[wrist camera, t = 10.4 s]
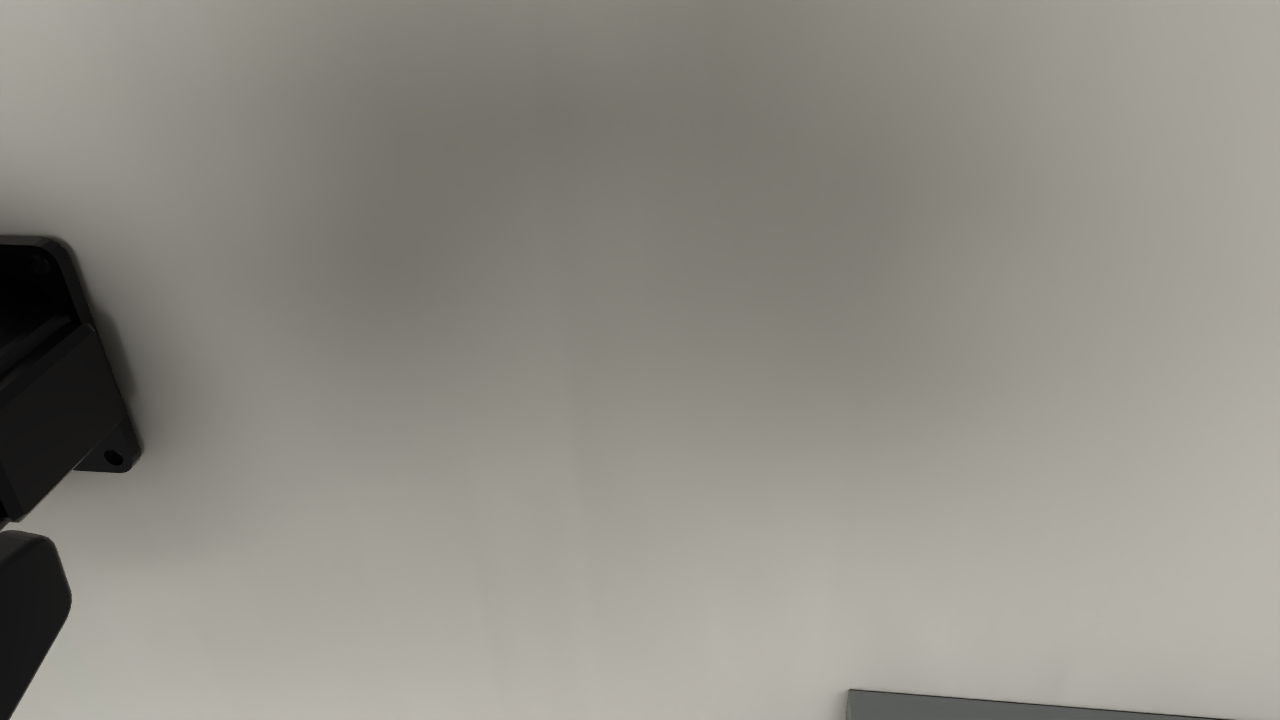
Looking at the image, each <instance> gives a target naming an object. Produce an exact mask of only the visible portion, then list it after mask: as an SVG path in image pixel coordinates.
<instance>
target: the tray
mask: <svg viewBox="0 0 1280 720" xmlns="http://www.w3.org/2000/svg"><path fill="white" fill-rule="evenodd" d="M846 720H1216V719H1203V718H1191V717H1178V716H1166V715H1153V714H1141V713H1128V712H1116V711H1103V710H1091V709H1078V708H1066V707H1053V706H1041V705H1028V704H1016V703H1004V702H991V701H979V700H966V699H954V698H941V697H929V696H916V695H904V694H891V693H879V692H866V691H854V690H849V697H848V705H847V713H846Z"/></svg>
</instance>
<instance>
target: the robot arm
mask: <svg viewBox="0 0 1280 720" xmlns="http://www.w3.org/2000/svg"><path fill="white" fill-rule="evenodd" d="M40 256H42V257H43V258H44V259H46V260H47V262H48V263H49V265H50V266H48V265H47V264H45V263H44V262H43V261H42V259H41V258H40ZM116 451H117V452H118V453H119V454H118V453H117V452H116ZM120 454H121V455H120ZM140 457H141V451H140V447H139V444H138V442H137V439H136V436H135V433H134V431H133V428H132V425H131V423H130V420H129V417H128V414H127V412H126V409H125V406H124V403H123V401H122V398H121V395H120V392H119V390H118V387H117V384H116V381H115V379H114V376H113V373H112V371H111V368H110V365H109V362H108V360H107V357H106V354H105V351H104V349H103V346H102V343H101V340H100V338H99V335H98V332H97V329H96V327H95V324H94V321H93V319H92V316H91V313H90V310H89V308H88V305H87V302H86V299H85V297H84V294H83V291H82V288H81V286H80V283H79V280H78V277H77V275H76V272H75V269H74V267H73V264H72V261H71V258H70V257H69V255H68V253H67V251H66V250H65V249H64V248H63V247H62V246H61V245H60V244H58V243H57V242H55V241H53V240H51V239H46V238H33V237H0V531H1V530H2V529H3V528H4V527H5V526H6V525H7V524H8V523H9V522H20V521H22V520H23V519H24V518H25V517H26V516H27V515H28V514H29V513H30V512H31V511H32V510H33V509H34V508H35V507H36V506H37V505H38V504H39V503H40V502H41V501H42V500H43V499H44V498H45V497H46V496H47V495H48V494H49V493H50V492H51V491H52V490H53V489H54V488H55V487H56V486H57V485H58V484H59V483H60V482H61V481H62V480H63V479H64V478H65V477H66V476H67V475H68V474H69V473H70V472H71V471H72V470H77V471H94V472H111V473H124V472H127V471H129V470H130V469H131V468H132V467H133V466H134V465H135V464H136V463H137V462H138V461H139V459H140ZM71 603H72V594H71V590H70V587H69V584H68V581H67V578H66V575H65V572H64V569H63V566H62V563H61V560H60V557H59V554H58V551H57V548H56V546H55V544H54V543H53V541H52V540H50V539H49V538H48V537H45V536H42V535H37V534H32V533H27V532H22V531H16V530H9V531H4V532H1V533H0V720H10V718H11V716H12V714H13V713H14V711H15V709H16V707H17V706H18V704H19V702H20V700H21V699H22V697H23V695H24V693H25V692H26V690H27V688H28V686H29V684H30V683H31V681H32V679H33V677H34V676H35V674H36V672H37V670H38V669H39V667H40V665H41V663H42V662H43V660H44V658H45V656H46V655H47V653H48V651H49V649H50V648H51V646H52V644H53V642H54V641H55V639H56V637H57V635H58V634H59V632H60V630H61V628H62V627H63V625H64V623H65V621H66V619H67V617H68V614H69V611H70V608H71Z"/></svg>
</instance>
